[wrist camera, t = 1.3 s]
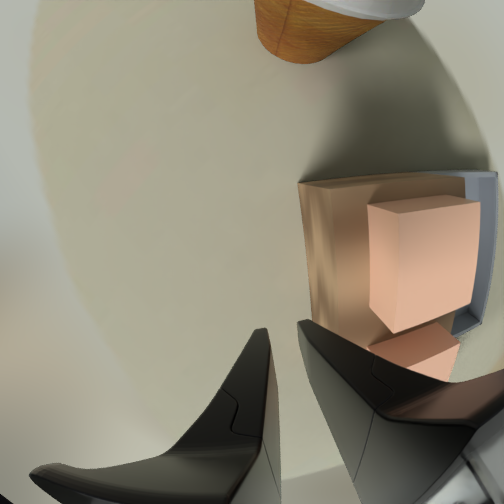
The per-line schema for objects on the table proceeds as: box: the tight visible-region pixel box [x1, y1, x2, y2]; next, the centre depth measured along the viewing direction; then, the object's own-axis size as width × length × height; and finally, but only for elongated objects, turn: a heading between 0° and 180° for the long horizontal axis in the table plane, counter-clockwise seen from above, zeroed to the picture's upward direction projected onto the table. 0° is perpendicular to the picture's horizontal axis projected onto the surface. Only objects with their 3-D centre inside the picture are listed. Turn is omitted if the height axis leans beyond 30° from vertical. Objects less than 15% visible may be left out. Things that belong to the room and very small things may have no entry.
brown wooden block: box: [297, 172, 466, 350], centre depth 19 cm, size 17×10×7 cm, turn 9°
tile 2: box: [367, 195, 480, 334], centre depth 12 cm, size 6×6×3 cm
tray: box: [415, 170, 498, 338], centre depth 21 cm, size 17×10×3 cm, turn 9°
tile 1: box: [367, 322, 460, 382], centre depth 15 cm, size 6×6×3 cm
